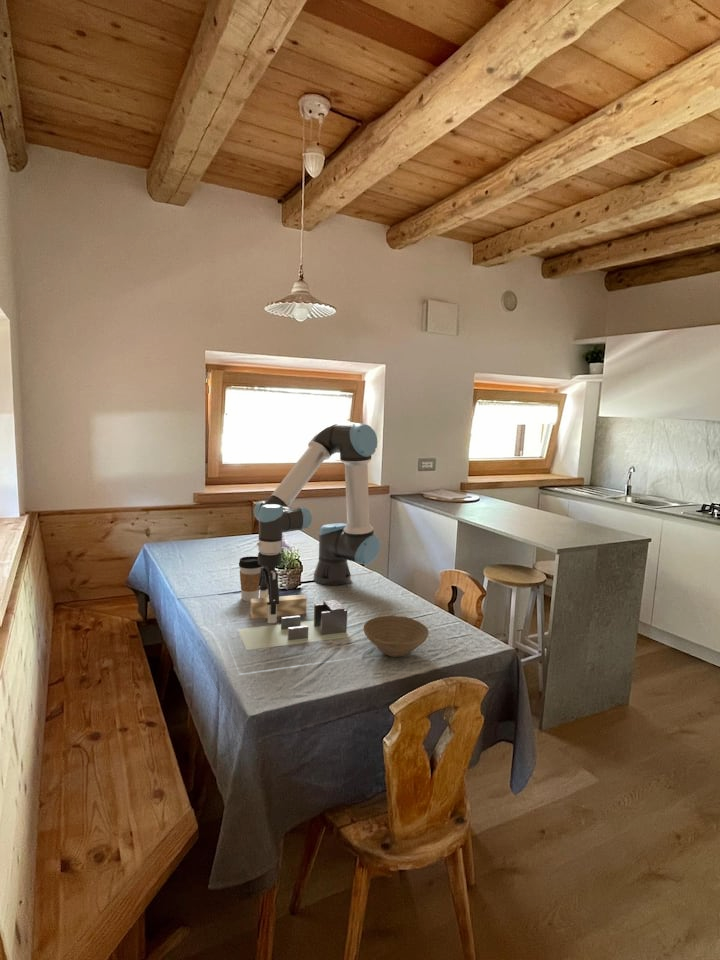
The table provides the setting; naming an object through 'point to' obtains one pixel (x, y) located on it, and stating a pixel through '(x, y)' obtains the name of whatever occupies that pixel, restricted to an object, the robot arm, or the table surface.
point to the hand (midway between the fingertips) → (267, 615)
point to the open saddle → (294, 627)
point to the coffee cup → (249, 577)
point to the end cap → (330, 617)
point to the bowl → (395, 634)
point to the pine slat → (279, 606)
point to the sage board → (281, 636)
